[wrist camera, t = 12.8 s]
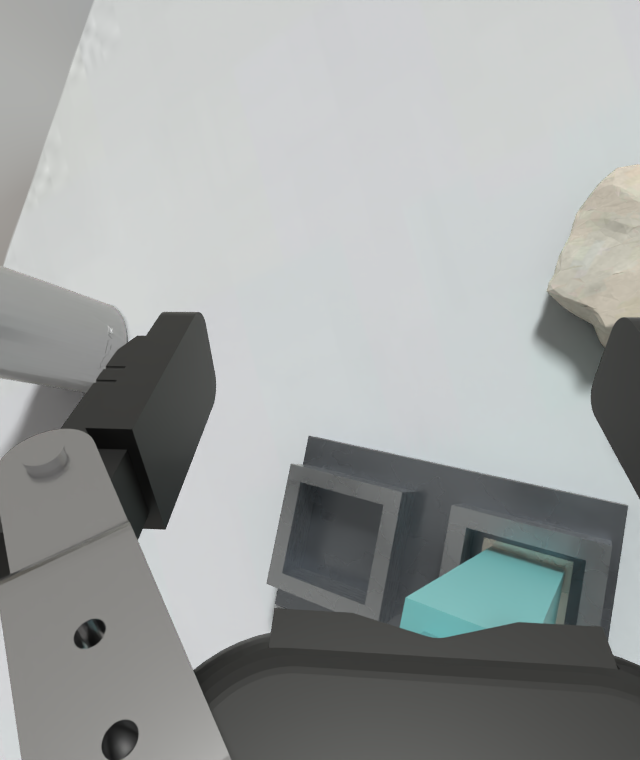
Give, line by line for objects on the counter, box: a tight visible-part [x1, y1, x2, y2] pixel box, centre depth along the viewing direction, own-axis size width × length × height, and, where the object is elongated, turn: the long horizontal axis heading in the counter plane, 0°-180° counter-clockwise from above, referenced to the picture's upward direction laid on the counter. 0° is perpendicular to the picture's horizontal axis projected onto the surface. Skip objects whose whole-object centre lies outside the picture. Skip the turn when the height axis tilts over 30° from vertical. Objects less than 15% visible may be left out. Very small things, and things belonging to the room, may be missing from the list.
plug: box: [400, 547, 565, 638], centre depth 22 cm, size 4×4×17 cm
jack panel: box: [267, 436, 628, 641], centre depth 31 cm, size 20×12×4 cm, turn 77°
